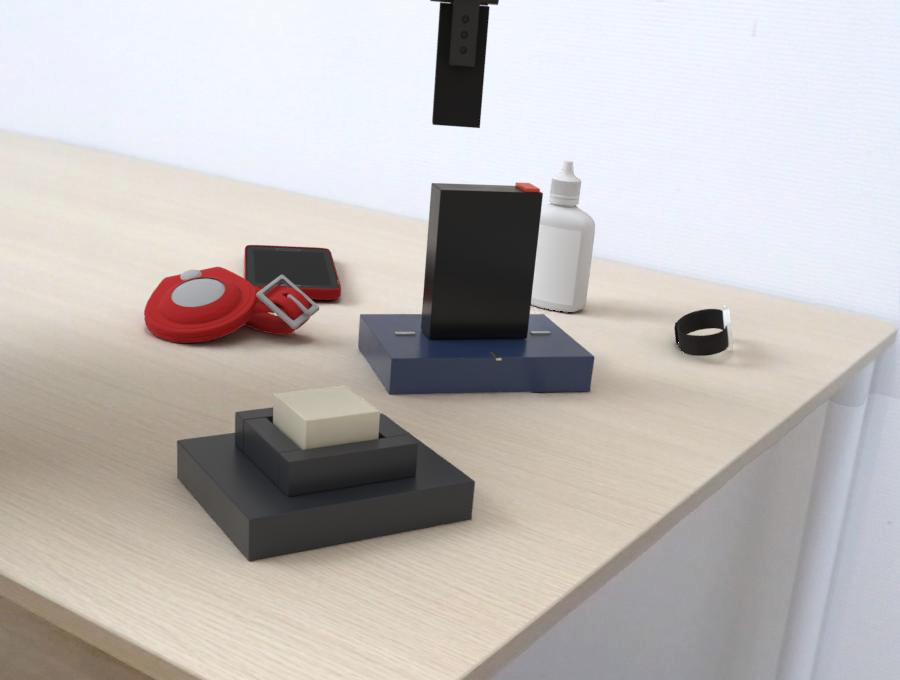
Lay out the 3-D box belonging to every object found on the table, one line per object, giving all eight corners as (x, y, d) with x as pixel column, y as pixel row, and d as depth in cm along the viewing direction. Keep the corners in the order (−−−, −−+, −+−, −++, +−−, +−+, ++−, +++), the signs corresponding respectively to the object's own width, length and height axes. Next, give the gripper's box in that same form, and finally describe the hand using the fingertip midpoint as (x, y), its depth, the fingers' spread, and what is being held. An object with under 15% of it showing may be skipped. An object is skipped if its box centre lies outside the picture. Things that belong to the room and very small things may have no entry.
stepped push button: (248, 563, 53) (250, 482, 52) (176, 478, 61) (176, 406, 60) (471, 520, 59) (479, 447, 58) (380, 448, 67) (384, 382, 66)
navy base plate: (391, 398, 75) (393, 359, 74) (356, 344, 85) (358, 309, 84) (593, 394, 79) (598, 357, 78) (537, 343, 89) (541, 309, 88)
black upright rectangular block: (429, 339, 79) (441, 186, 75) (420, 328, 81) (431, 179, 77) (527, 338, 81) (543, 189, 77) (516, 328, 83) (531, 182, 79)
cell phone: (329, 258, 108) (330, 247, 107) (342, 302, 94) (342, 290, 94) (244, 254, 106) (244, 244, 106) (244, 298, 93) (244, 286, 93)
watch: (734, 367, 87) (743, 320, 86) (670, 359, 88) (678, 312, 86) (730, 339, 94) (738, 295, 93) (671, 331, 95) (678, 287, 93)
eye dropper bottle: (547, 316, 96) (564, 167, 92) (513, 297, 101) (527, 155, 96) (591, 313, 98) (610, 167, 93) (556, 295, 103) (572, 155, 98)
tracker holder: (146, 333, 79) (130, 263, 87) (161, 386, 82) (144, 313, 90) (320, 294, 82) (290, 229, 89) (329, 346, 85) (299, 279, 92)
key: (304, 454, 56) (306, 420, 56) (272, 425, 60) (273, 392, 59) (378, 443, 58) (380, 410, 58) (343, 415, 62) (344, 384, 61)
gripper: (583, -389, 53) (531, 145, 62) (550, -324, 65) (510, 115, 74) (417, -405, 52) (389, 135, 61) (415, -337, 64) (391, 107, 73)
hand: (455, 124), depth 68 cm, fingers closed
